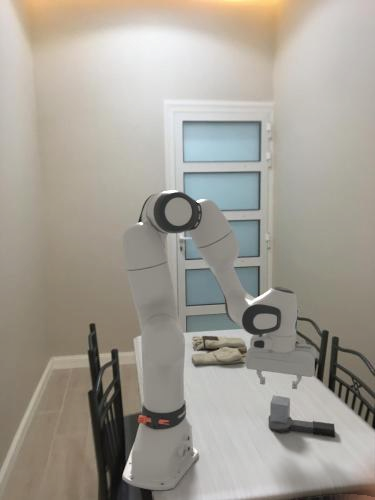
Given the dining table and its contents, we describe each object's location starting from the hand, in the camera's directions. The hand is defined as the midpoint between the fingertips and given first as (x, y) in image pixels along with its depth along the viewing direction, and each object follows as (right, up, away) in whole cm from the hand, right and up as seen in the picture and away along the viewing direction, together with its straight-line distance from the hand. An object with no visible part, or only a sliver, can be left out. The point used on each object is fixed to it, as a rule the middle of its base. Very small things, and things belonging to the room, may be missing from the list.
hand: (278, 385), depth 121 cm
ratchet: (+7, -13, 0) cm, 15 cm away
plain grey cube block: (+1, -11, +2) cm, 11 cm away
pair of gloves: (-13, -7, +63) cm, 64 cm away
